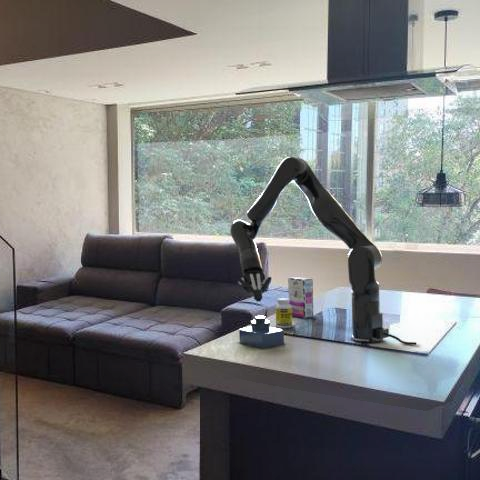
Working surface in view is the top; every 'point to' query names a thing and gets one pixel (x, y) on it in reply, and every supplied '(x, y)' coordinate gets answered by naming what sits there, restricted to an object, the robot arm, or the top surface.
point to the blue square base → (261, 335)
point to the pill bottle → (283, 313)
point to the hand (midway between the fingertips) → (258, 300)
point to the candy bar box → (301, 296)
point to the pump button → (260, 319)
